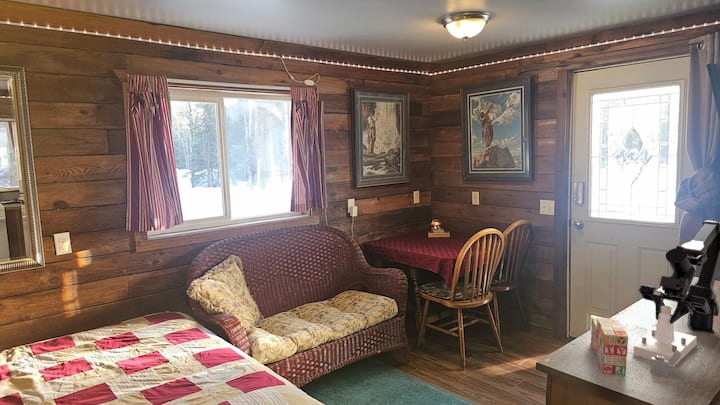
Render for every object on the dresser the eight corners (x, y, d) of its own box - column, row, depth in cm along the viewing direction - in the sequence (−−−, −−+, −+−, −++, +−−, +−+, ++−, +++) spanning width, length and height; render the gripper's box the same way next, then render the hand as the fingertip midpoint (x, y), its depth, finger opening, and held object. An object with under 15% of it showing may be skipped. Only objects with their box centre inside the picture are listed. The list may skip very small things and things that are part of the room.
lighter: (650, 372, 139) (652, 346, 138) (651, 370, 141) (652, 344, 140) (679, 379, 135) (681, 353, 134) (679, 377, 136) (682, 350, 135)
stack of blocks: (590, 343, 160) (591, 308, 158) (610, 345, 158) (612, 309, 156) (602, 373, 140) (604, 333, 138) (626, 376, 138) (628, 335, 136)
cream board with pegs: (658, 335, 165) (659, 322, 164) (695, 345, 156) (697, 332, 156) (633, 354, 151) (634, 341, 150) (673, 367, 142) (674, 352, 142)
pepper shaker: (653, 335, 155) (655, 302, 154) (673, 338, 153) (675, 305, 151) (654, 341, 151) (656, 308, 149) (675, 344, 148) (677, 310, 147)
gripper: (643, 260, 158) (625, 300, 154) (709, 272, 143) (691, 317, 139) (652, 278, 164) (635, 317, 159) (717, 292, 149) (700, 335, 144)
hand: (663, 321), depth 150 cm, fingers closed on pepper shaker, 4 cm apart
